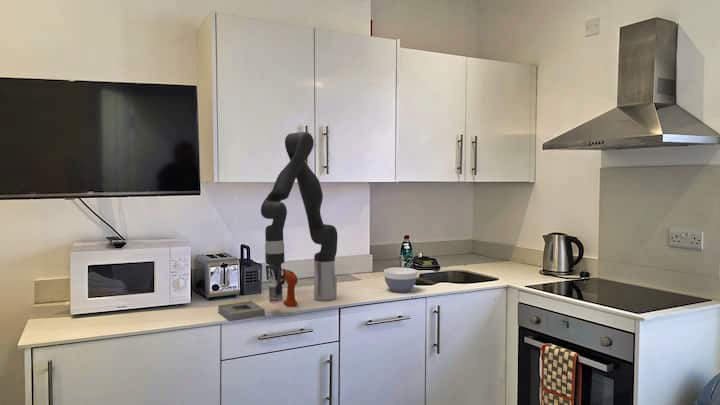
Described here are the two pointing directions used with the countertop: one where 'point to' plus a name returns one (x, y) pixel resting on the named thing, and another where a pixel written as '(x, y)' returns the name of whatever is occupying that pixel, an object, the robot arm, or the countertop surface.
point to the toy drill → (290, 288)
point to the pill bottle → (274, 293)
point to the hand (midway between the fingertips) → (275, 292)
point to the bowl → (400, 279)
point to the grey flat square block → (241, 310)
